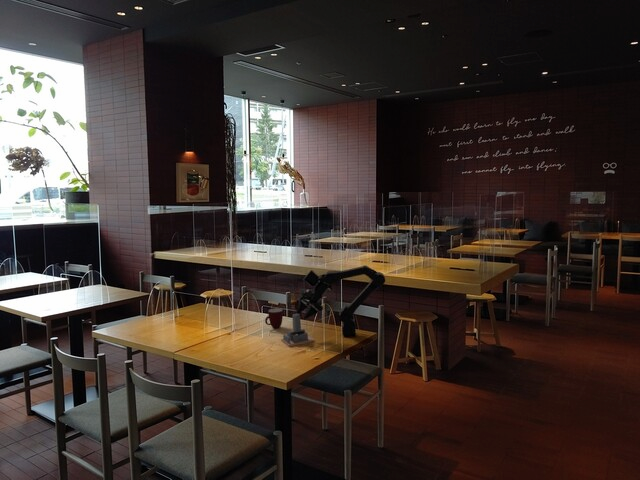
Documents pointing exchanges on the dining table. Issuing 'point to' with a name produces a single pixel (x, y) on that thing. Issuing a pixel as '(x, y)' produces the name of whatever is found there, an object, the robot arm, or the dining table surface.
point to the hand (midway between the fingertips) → (300, 316)
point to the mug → (275, 317)
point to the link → (297, 330)
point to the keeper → (287, 341)
